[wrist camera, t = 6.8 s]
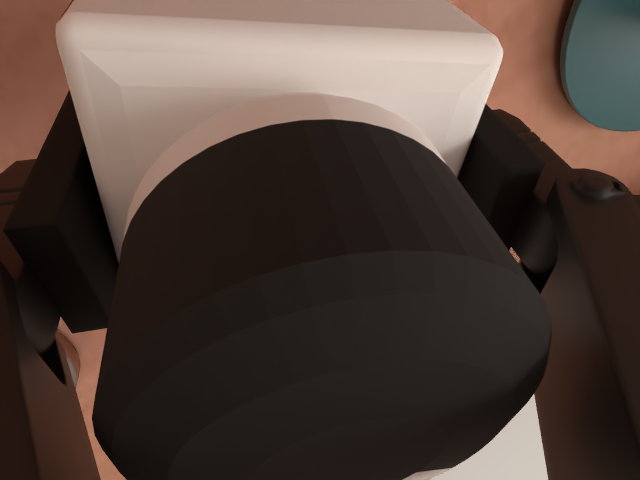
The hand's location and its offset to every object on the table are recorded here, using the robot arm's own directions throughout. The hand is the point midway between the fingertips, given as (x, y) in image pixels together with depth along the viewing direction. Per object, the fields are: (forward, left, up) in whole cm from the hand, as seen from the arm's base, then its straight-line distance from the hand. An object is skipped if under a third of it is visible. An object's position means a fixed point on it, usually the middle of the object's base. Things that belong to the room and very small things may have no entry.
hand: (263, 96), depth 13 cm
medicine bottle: (0, 0, -2) cm, 2 cm away
